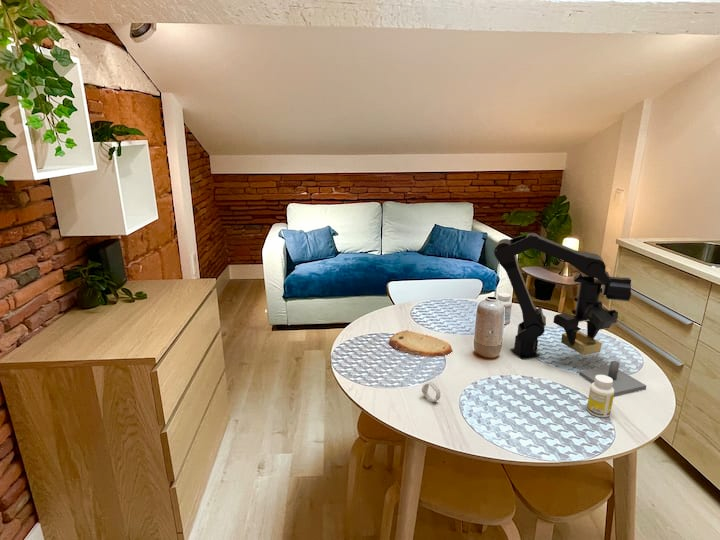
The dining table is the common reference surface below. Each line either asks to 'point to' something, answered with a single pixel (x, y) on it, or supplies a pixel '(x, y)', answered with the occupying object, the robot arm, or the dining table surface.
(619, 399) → the dining table surface
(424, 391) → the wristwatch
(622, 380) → the keeper plate
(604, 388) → the supplement bottle
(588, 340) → the wooden tray box
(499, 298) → the pill bottle
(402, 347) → the bread slice
